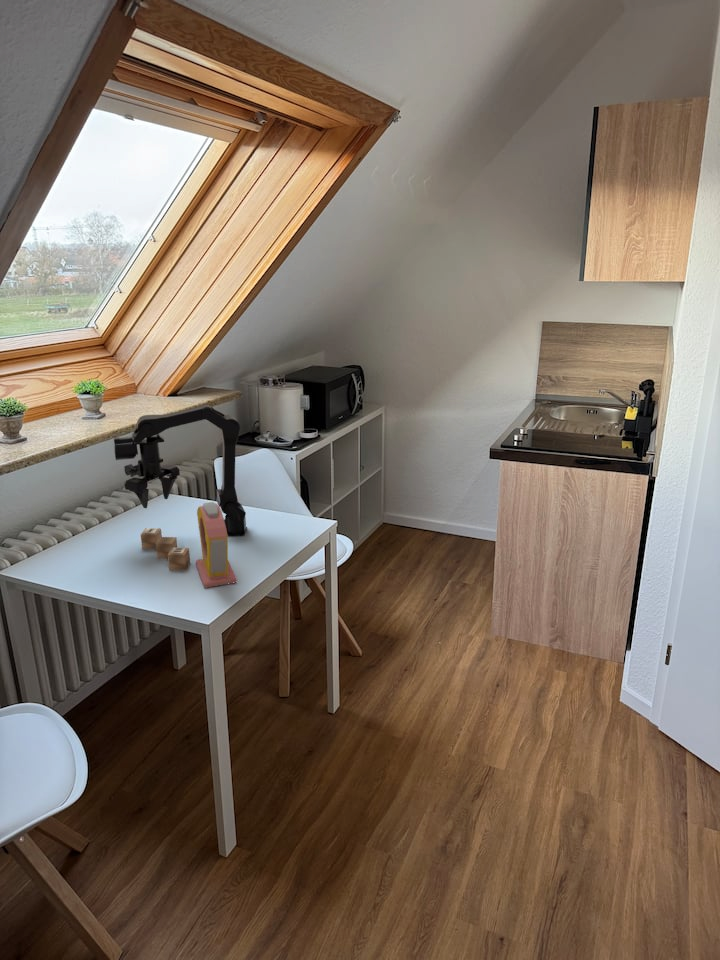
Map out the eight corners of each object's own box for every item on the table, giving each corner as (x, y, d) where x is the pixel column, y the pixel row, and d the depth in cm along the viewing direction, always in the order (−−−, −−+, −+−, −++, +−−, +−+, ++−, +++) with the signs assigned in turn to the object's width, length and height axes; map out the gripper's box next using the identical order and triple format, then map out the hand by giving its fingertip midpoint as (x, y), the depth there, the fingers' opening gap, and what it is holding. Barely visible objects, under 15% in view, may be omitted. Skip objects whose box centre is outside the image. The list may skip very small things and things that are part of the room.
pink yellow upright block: (194, 561, 211) (188, 494, 204) (224, 556, 214) (220, 491, 208) (205, 593, 192) (199, 521, 185) (238, 587, 195) (234, 516, 188)
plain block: (177, 551, 218) (176, 537, 217) (173, 558, 214) (171, 543, 212) (162, 551, 218) (160, 537, 217) (157, 558, 214) (155, 543, 212)
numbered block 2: (190, 562, 211) (188, 546, 209) (185, 570, 206) (184, 553, 204) (173, 562, 211) (172, 546, 209) (169, 569, 206) (167, 553, 204)
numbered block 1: (162, 542, 225) (160, 527, 223) (157, 548, 220) (156, 533, 219) (147, 542, 225) (145, 527, 223) (142, 548, 220) (140, 533, 219)
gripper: (152, 445, 227) (157, 490, 232) (108, 461, 211) (115, 509, 216) (178, 450, 222) (183, 495, 227) (135, 466, 206) (141, 514, 211)
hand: (155, 503), depth 220 cm, fingers open, 9 cm apart
